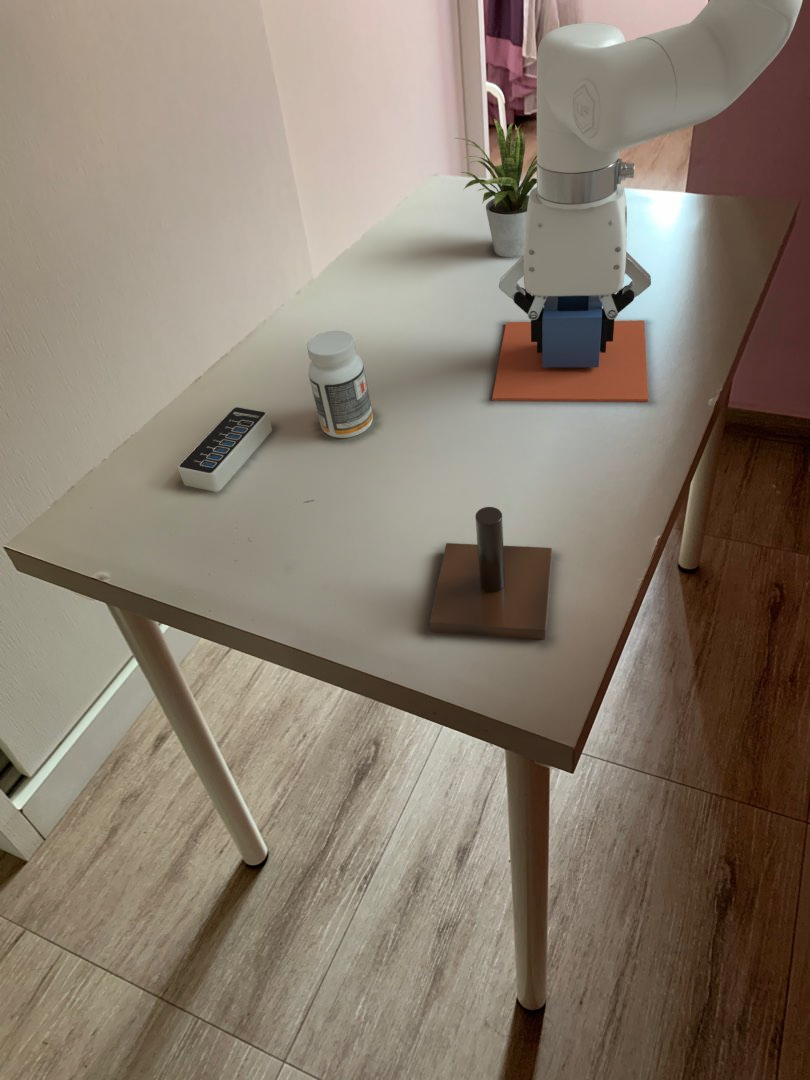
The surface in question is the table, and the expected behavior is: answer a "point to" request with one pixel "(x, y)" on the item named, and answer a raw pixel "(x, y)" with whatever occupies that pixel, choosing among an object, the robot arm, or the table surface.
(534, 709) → the table surface
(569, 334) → the blue block
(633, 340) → the mat
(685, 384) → the table surface
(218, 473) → the multiport hub
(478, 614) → the dowel stand
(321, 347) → the pill bottle
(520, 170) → the house plant
